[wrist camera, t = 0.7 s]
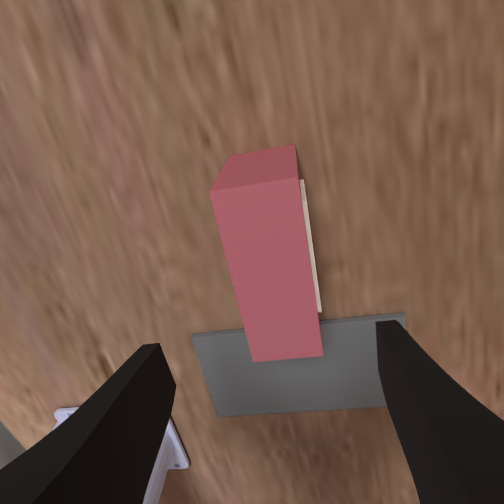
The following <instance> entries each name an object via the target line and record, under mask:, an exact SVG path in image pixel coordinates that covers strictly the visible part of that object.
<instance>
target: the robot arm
mask: <svg viewBox="0 0 504 504" xmlns="http://www.w3.org/2000/svg"><path fill="white" fill-rule="evenodd" d="M375 324H376V342H377V360H378V372H379V376H380V380H381V385H382V389H383V393H384V397H385V401H386V404H387V407H388V409H389V412H390V415H391V418H392V421H393V423H394V426H395V429H396V432H397V434H398V437H399V440H400V443H401V446H402V448H403V451H404V454H405V457H406V459H407V462H408V465H409V468H410V470H411V473H412V476H413V480H414V483H415V486H416V489H417V493H418V497H419V500H420V504H504V421H503V420H502V419H501V418H499V417H498V416H497V415H495V414H494V413H493V412H492V411H490V410H489V409H488V408H486V407H485V406H484V405H483V404H481V403H480V402H479V401H478V400H476V399H475V398H474V397H473V396H472V395H471V394H469V393H468V392H467V391H466V390H465V389H464V388H462V387H461V386H460V385H459V384H458V383H457V382H456V381H455V380H453V379H452V378H451V377H450V376H449V375H448V374H447V373H446V372H445V371H444V370H443V369H442V368H441V367H440V366H439V365H438V364H437V363H436V362H435V361H434V360H433V359H432V358H431V357H430V356H429V355H428V354H427V353H426V352H425V351H424V350H423V349H422V348H421V347H420V346H419V345H418V344H417V342H416V341H415V340H414V339H413V338H412V337H411V336H410V335H409V333H408V332H407V331H406V330H405V329H404V328H403V326H402V325H401V324H400V323H399V322H398V321H397V320H388V321H378V322H375ZM175 390H176V384H175V381H174V379H173V376H172V374H171V371H170V369H169V366H168V364H167V361H166V359H165V356H164V353H163V351H162V348H161V346H160V343H155V344H145V345H142V346H141V347H140V348H139V349H138V350H137V351H136V352H135V353H134V354H133V355H132V356H131V357H130V358H129V359H128V360H127V361H126V362H125V363H124V364H123V365H122V366H121V367H120V368H119V369H118V370H117V371H116V372H115V373H114V374H113V375H112V376H111V377H110V378H109V379H108V380H107V381H106V382H105V383H104V384H103V385H102V386H101V387H100V388H99V389H98V390H97V391H96V392H95V393H94V394H93V395H92V396H91V397H90V398H89V399H88V400H86V401H85V402H84V403H83V404H82V405H81V406H80V407H73V408H60V409H57V410H56V411H55V413H54V416H55V418H56V419H57V421H58V422H57V424H56V425H55V427H54V428H53V430H52V431H51V432H50V433H49V434H48V435H47V436H45V437H44V438H43V439H42V440H40V441H39V442H38V443H36V444H35V445H34V446H32V447H31V448H30V449H28V450H27V451H26V452H24V453H23V454H21V455H20V456H19V457H17V458H16V459H15V460H13V461H12V462H11V463H9V464H8V465H6V466H5V467H3V468H2V469H1V470H0V504H158V502H159V499H160V496H161V492H162V489H163V485H164V482H165V478H166V475H167V471H168V469H186V468H188V466H189V460H188V458H187V455H186V453H185V451H184V448H183V446H182V444H181V441H180V439H179V437H178V434H177V432H176V430H175V427H174V425H173V423H172V420H171V418H170V416H171V411H172V407H173V402H174V396H175Z"/></svg>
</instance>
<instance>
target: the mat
mask: <svg viewBox="0 0 504 504" xmlns="http://www.w3.org/2000/svg"><path fill="white" fill-rule="evenodd" d="M388 320H397V321H398V322H399V323H400V324H401V325H402V326H403V328H404V329H405V330H406V316H405V314H404V312H402V313H392V314H382V315H372V316H363V317H353V318H343V319H333V320H323V321H319V323H320V331H321V339H322V347H323V355H324V356H317V357H306V358H294V359H283V360H271V361H260V362H253V360H252V356H251V353H250V349H249V345H248V341H247V337H246V333H245V329H235V330H225V331H215V332H206V333H196V334H192V337H191V339H192V341H193V344H194V347H195V350H196V353H197V356H198V359H199V362H200V365H201V368H202V371H203V373H204V376H205V379H206V382H207V385H208V388H209V391H210V394H211V397H212V400H213V402H214V405H215V408H216V411H217V414H218V417H228V416H244V415H260V414H275V413H291V412H307V411H323V410H339V409H355V408H371V407H387V404H386V401H385V397H384V393H383V389H382V385H381V380H380V376H379V372H378V360H377V342H376V324H375V322H378V321H388Z"/></svg>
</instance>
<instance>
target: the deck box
mask: <svg viewBox="0 0 504 504" xmlns="http://www.w3.org/2000/svg"><path fill="white" fill-rule="evenodd" d="M209 194H210V198H211V201H212V205H213V209H214V213H215V217H216V221H217V225H218V229H219V232H220V236H221V240H222V244H223V248H224V252H225V256H226V260H227V263H228V267H229V271H230V275H231V279H232V283H233V287H234V291H235V294H236V298H237V302H238V306H239V310H240V314H241V318H242V322H243V325H244V329H245V333H246V337H247V341H248V345H249V349H250V353H251V356H252V360H253V362H260V361H271V360H283V359H294V358H306V357H317V356H324V355H323V347H322V339H321V331H320V323H319V314H318V312H322V310H321V302H320V295H319V288H318V280H317V273H316V266H315V258H314V251H313V244H312V236H311V229H310V222H309V214H308V207H307V200H306V192H305V185H304V179H303V180H300V176H299V169H298V162H297V155H296V148H295V144H293V145H287V146H282V147H276V148H271V149H265V150H260V151H254V152H249V153H243V154H237V155H232V156H229V158H228V159H227V161H226V163H225V165H224V166H223V168H222V170H221V172H220V173H219V175H218V177H217V179H216V180H215V182H214V184H213V186H212V187H211V189H210V191H209Z"/></svg>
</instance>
